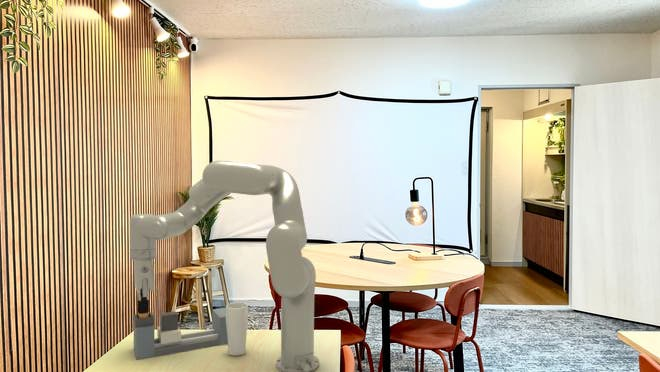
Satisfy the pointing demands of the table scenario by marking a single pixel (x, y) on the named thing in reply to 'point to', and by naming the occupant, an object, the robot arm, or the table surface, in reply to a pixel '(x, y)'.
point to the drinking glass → (236, 327)
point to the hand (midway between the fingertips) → (143, 312)
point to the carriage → (168, 328)
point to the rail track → (190, 341)
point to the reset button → (143, 315)
